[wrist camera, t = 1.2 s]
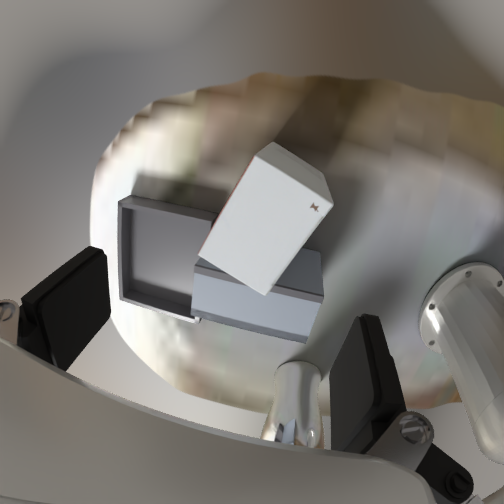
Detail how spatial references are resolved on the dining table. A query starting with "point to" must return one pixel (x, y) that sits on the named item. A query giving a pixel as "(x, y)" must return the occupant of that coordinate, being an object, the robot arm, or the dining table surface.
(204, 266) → the grey rectangular block
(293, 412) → the beer glass
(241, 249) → the small box
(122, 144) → the dining table surface
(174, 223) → the tray
